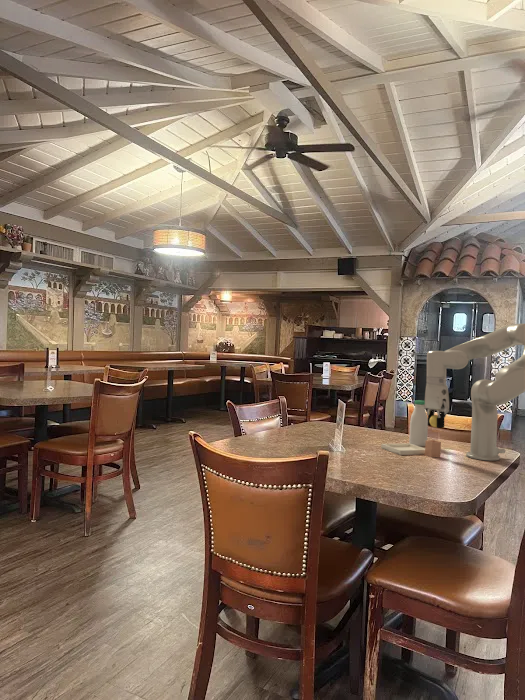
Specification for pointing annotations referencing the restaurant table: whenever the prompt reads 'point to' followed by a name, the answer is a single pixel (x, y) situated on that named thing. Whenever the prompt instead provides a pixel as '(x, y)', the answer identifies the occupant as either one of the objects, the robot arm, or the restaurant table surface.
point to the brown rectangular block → (432, 448)
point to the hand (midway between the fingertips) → (435, 426)
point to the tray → (404, 449)
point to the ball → (433, 420)
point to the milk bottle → (418, 425)
